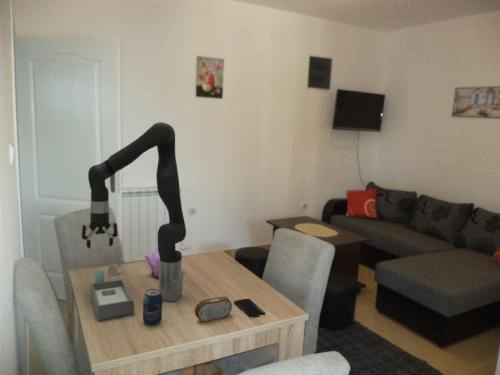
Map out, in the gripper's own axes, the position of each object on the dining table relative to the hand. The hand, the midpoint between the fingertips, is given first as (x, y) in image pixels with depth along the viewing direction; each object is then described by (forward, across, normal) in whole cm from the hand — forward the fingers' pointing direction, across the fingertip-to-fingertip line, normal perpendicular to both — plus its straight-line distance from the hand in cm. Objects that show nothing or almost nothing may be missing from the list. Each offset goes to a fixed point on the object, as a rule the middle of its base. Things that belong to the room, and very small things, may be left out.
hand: (99, 247), depth 164 cm
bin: (+20, -2, +17) cm, 26 cm away
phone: (+20, -53, +41) cm, 70 cm away
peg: (+20, 0, 0) cm, 20 cm away
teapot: (+20, -30, -7) cm, 37 cm away
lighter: (+20, -9, -15) cm, 27 cm away
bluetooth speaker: (+20, -36, +43) cm, 59 cm away
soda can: (+20, -14, +36) cm, 43 cm away
